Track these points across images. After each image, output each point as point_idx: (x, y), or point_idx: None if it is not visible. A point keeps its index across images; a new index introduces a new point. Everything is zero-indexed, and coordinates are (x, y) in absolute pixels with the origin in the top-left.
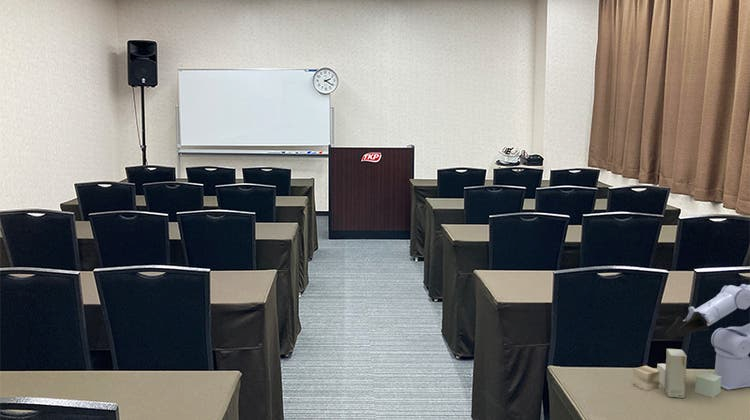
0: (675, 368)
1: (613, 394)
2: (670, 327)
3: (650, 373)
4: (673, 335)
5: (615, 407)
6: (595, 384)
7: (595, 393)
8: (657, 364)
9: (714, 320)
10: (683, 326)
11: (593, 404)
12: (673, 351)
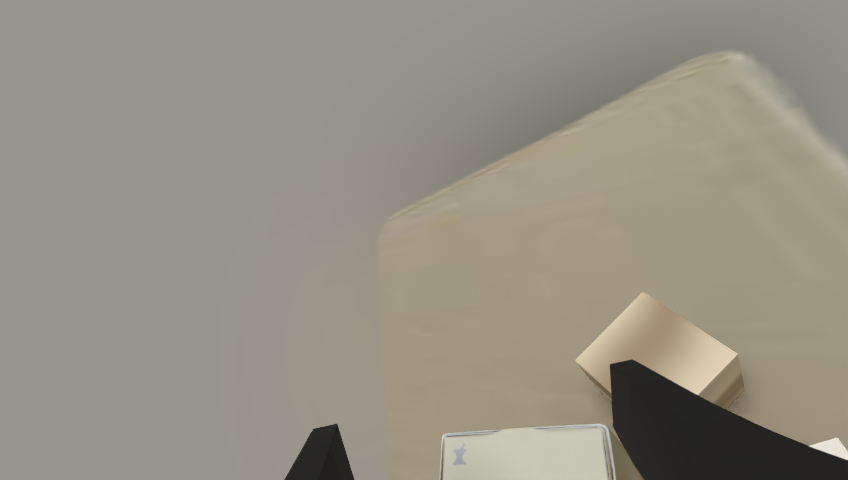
0: None
1: (516, 270)
2: (701, 404)
3: (591, 375)
4: (645, 461)
5: (416, 288)
6: (595, 202)
7: (510, 220)
8: (833, 439)
9: None
10: (290, 475)
11: (429, 232)
12: (531, 469)
